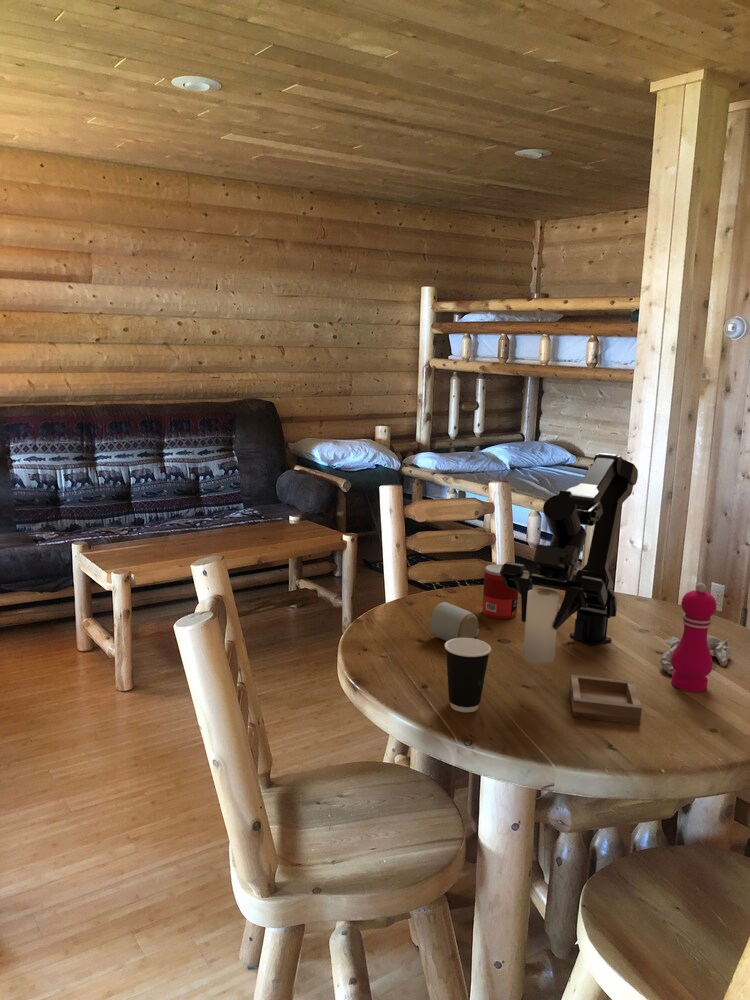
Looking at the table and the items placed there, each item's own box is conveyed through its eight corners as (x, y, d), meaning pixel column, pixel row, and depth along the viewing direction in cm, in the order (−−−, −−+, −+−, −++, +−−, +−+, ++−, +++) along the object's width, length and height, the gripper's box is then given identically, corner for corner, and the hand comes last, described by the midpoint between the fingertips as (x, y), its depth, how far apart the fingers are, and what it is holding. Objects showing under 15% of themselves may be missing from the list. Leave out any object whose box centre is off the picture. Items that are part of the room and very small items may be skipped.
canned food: (519, 620, 182) (522, 574, 179) (484, 619, 182) (487, 572, 180) (513, 609, 189) (517, 564, 187) (480, 608, 189) (483, 563, 187)
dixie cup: (434, 697, 141) (438, 638, 139) (477, 694, 143) (480, 636, 141) (450, 718, 133) (454, 656, 131) (494, 714, 135) (498, 653, 133)
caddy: (569, 689, 146) (570, 674, 145) (631, 696, 144) (633, 681, 143) (572, 716, 135) (573, 700, 135) (639, 724, 133) (641, 708, 133)
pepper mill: (661, 677, 153) (673, 577, 149) (697, 677, 154) (710, 577, 150) (679, 693, 146) (692, 589, 142) (717, 693, 147) (730, 589, 143)
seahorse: (708, 683, 149) (743, 641, 163) (652, 648, 155) (690, 610, 169) (697, 703, 152) (732, 659, 166) (642, 668, 157) (681, 629, 171)
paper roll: (538, 649, 146) (543, 586, 144) (560, 660, 142) (566, 595, 139) (516, 655, 143) (521, 590, 141) (538, 666, 139) (543, 599, 136)
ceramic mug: (459, 651, 162) (461, 615, 161) (427, 640, 168) (429, 605, 166) (487, 638, 170) (490, 604, 169) (456, 628, 175) (458, 595, 174)
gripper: (507, 519, 146) (478, 591, 139) (609, 535, 136) (583, 613, 129) (520, 551, 154) (493, 621, 147) (617, 568, 145) (593, 644, 138)
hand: (538, 624), depth 140 cm, fingers closed on paper roll, 5 cm apart
